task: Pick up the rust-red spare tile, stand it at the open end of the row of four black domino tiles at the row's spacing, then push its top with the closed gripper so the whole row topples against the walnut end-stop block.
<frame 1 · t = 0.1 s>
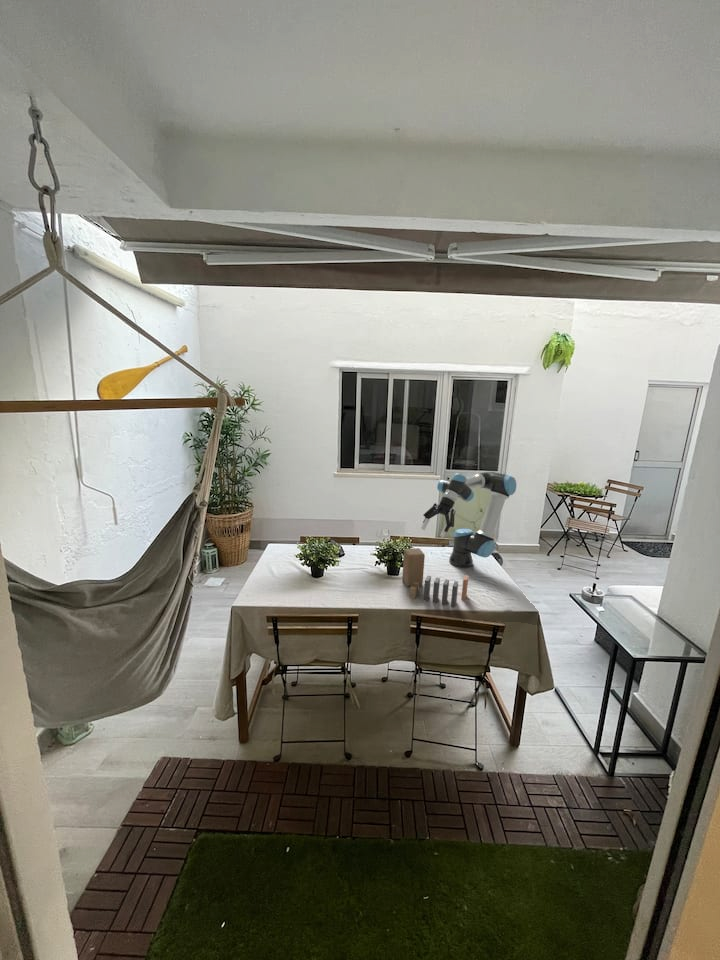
hand: (431, 532, 224), 36 cm above the table, tool tilted 35°, fingers open, 13 cm apart
domino 4: (426, 597, 226), on the table
end stop: (414, 595, 229), on the table
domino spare: (464, 597, 228), on the table
block: (412, 582, 243), on the table
domino 2: (444, 602, 223), on the table
domino 3: (435, 599, 224), on the table
domino 1: (453, 604, 221), on the table
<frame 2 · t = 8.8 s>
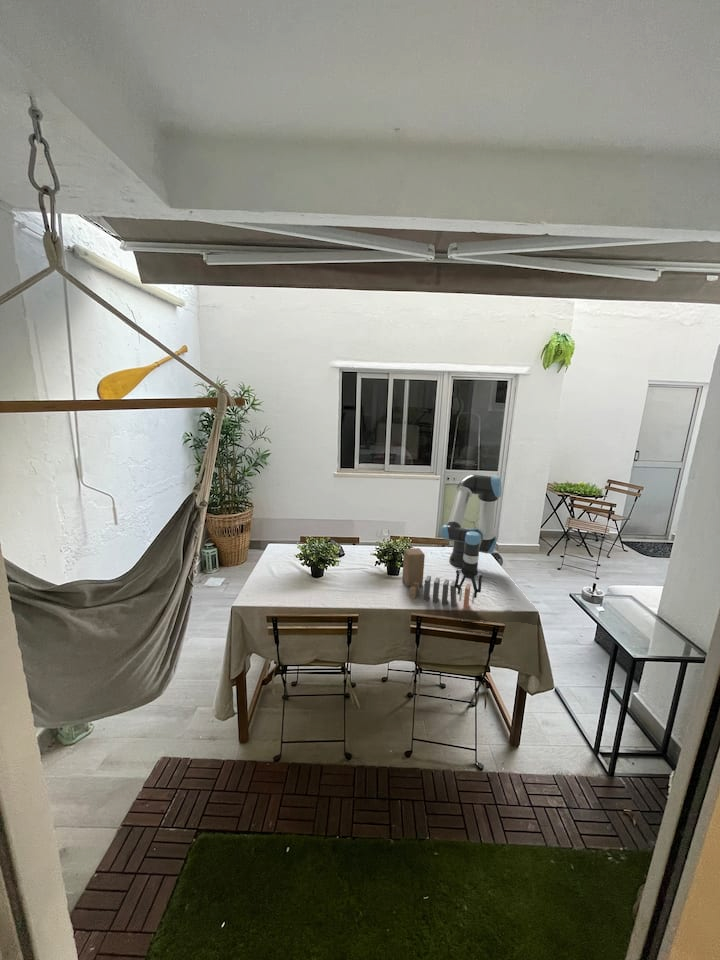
hand: (466, 601, 217), 3 cm above the table, tool pointing down, fingers open, 6 cm apart
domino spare: (465, 606, 218), on the table
domino 1: (453, 603, 221), on the table, tilted 6°, touching gripper
everything else where it was.
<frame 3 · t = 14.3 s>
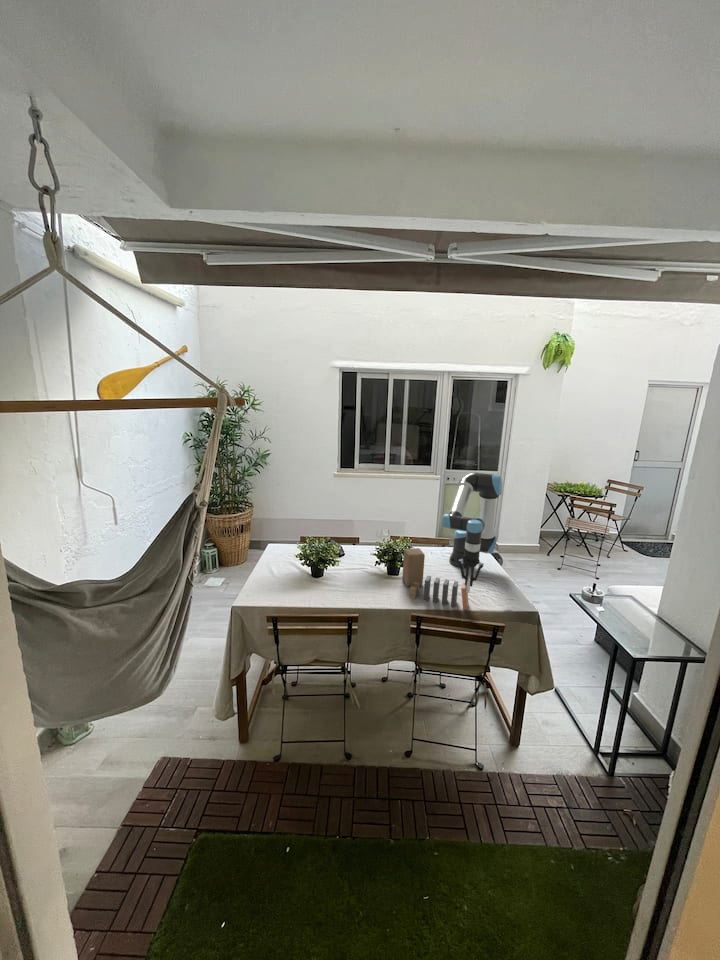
hand: (467, 591, 216), 9 cm above the table, tool pointing down, fingers closed
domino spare: (465, 606, 218), on the table, tilted 10°
domino 1: (453, 604, 221), on the table
everything else where it was.
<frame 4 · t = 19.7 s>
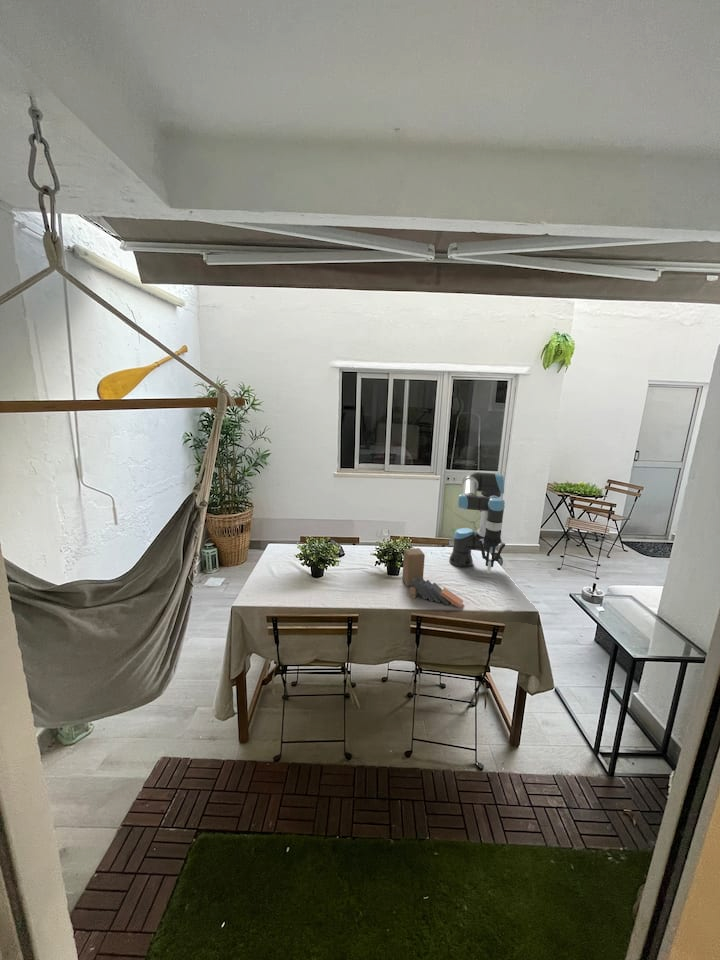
hand: (488, 572, 209), 22 cm above the table, tool pointing down, fingers closed
domino 4: (427, 596, 226), point 1 cm above the table, tilted 45°, touching domino 3, end stop
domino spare: (461, 604, 219), point 1 cm above the table, tilted 64°, touching domino 1
domino 2: (440, 599, 223), point 1 cm above the table, tilted 48°, touching domino 1, domino 3
domino 3: (433, 598, 225), point 1 cm above the table, tilted 45°, touching domino 2, domino 4
domino 1: (448, 601, 222), point 1 cm above the table, tilted 53°, touching domino 2, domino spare
everything else where it was.
at the end: domino 4 tilted 45°; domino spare tilted 64° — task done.
